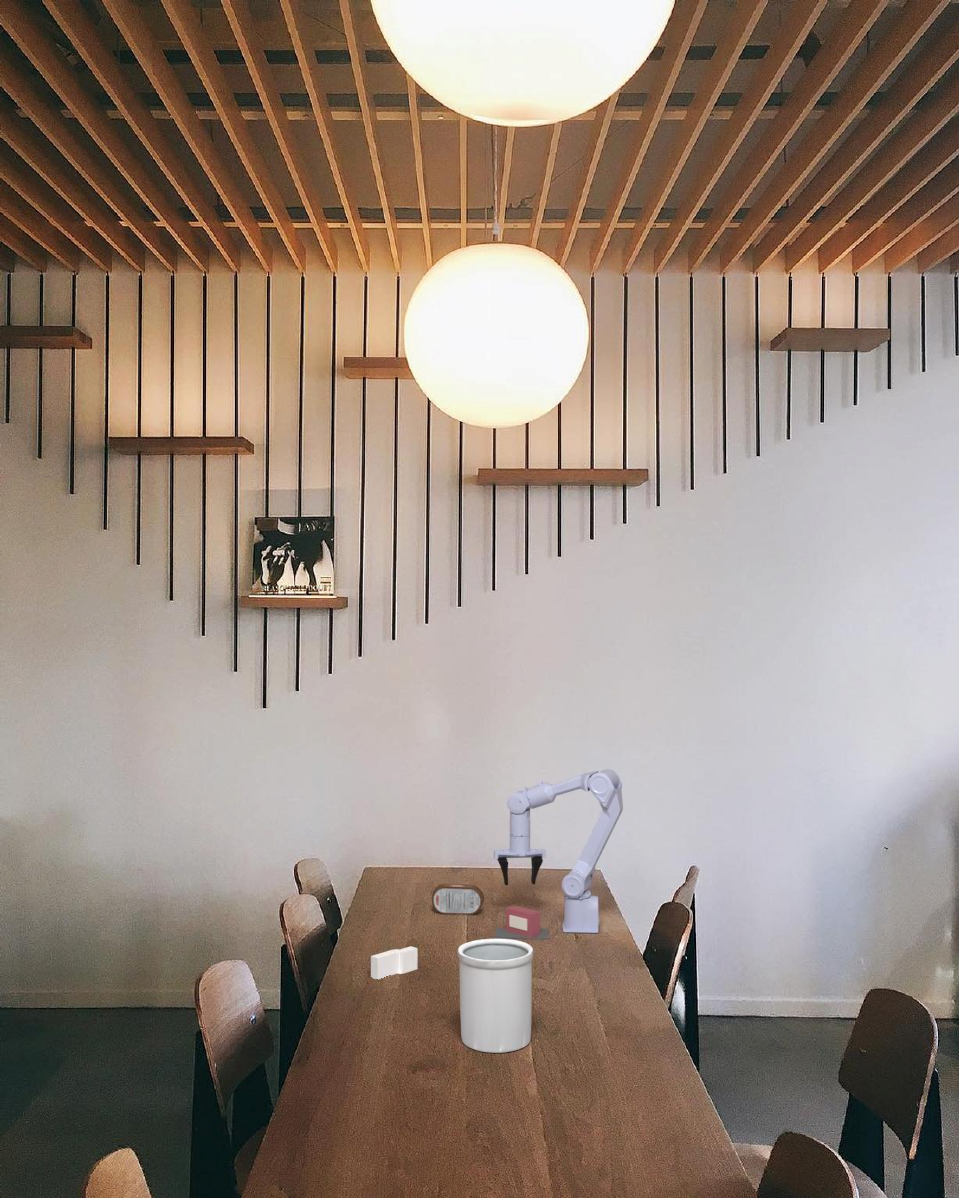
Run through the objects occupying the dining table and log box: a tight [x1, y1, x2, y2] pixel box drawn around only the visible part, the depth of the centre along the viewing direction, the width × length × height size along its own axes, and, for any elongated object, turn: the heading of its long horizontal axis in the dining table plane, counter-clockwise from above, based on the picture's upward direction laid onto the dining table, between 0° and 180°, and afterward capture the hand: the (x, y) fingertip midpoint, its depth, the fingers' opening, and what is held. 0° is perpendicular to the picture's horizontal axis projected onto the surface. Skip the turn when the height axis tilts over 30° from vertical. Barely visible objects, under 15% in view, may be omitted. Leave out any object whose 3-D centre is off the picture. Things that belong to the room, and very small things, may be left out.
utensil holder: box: [457, 938, 534, 1054], centre depth 191 cm, size 15×15×18 cm
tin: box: [431, 882, 485, 916], centre depth 279 cm, size 15×3×8 cm, turn 84°
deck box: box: [505, 905, 541, 938], centre depth 260 cm, size 4×9×6 cm, turn 48°
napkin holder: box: [370, 945, 418, 980], centre depth 229 cm, size 15×11×6 cm
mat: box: [494, 927, 549, 940], centre depth 260 cm, size 14×8×1 cm, turn 86°
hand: (519, 883), depth 271 cm, fingers open, 7 cm apart
